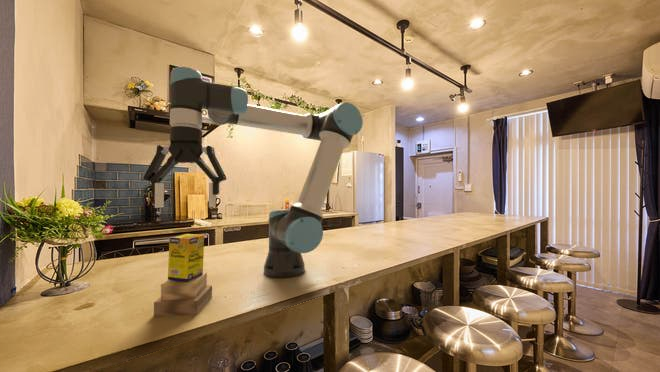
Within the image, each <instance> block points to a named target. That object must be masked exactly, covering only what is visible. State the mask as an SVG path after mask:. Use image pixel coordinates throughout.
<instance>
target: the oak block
mask: <svg viewBox="0 0 660 372" xmlns="http://www.w3.org/2000/svg"><path fill="white" fill-rule="evenodd" d="M207 274H208V272H206V271H205V272H204V271H203V275H201V276H198V277H196V278H193V279H191V280H189V281H187V282H185V281H176V280H168V279H167V280H165V281H163V282H162V283H160V297H161V300H178V299H195V298H196V297H197V296H198V295H199V294H200V293H201V292H202V291H203V290H204V289H205V288H206V287H207V285H208V284H207V283H208V279H207V278H208V275H207Z"/></svg>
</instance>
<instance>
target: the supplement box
mask: <svg viewBox="0 0 660 372" xmlns="http://www.w3.org/2000/svg"><path fill="white" fill-rule="evenodd" d="M168 241H169V242H168V245H169V246H168V266H167V267H168V269H167V280H176V281H185V282H187V281H189V280H191V279H193V278H196V277H198V276H201V275H203V272H204V250H205V249H204V246H205V245H204V244H205V235H204V234H195V233H194V234H193V233H185V234H180V235H176V236H169V240H168Z"/></svg>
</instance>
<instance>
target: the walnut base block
mask: <svg viewBox="0 0 660 372" xmlns="http://www.w3.org/2000/svg"><path fill="white" fill-rule="evenodd" d="M212 298H213V285H212V284H209V285H208V284H207V287H206V288H205V289H204V290H203V291H202V292H201V293H200V294H199V295H198V296H197V297H196V298H195V299H178V300H161V296H160V297H159V298H158V299H156V300H155V301H154V302H153V317H179V316H181V317H182V316H197V315H199V313H200V312H201V311H202V310H203V308H205V306H206V305H207V304H208V303H209V302H210V300H212Z"/></svg>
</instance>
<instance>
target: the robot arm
mask: <svg viewBox="0 0 660 372" xmlns="http://www.w3.org/2000/svg"><path fill="white" fill-rule="evenodd" d="M169 81H170V83H169V125H170V126H171V127H170V128H169V142H170V144H169V146H164V145H160V144H158V145H157V146H156V149H155V150H156V151H155V155H154V156H153V158H152V160H151V162H150V164H149V165H148V167H147V169H146V171H145V173H144V175H143V178H142V179H143V180H144V181H148V182H150V183H151V195H153V196H154V208H155V209H159V208H161V209H162V208H164V206H165V205H164V204H165V190H164V189H165V188H164V187H165V183H164V182H162V181H163V179H165V177H167V175H168V174H169V173H170V172H171V171H172V170H173V169H174V168H175V166H176V165H178V164H186V163H187V164H196V165H198V167H199V168H200V169H201V170H202V171H203V173H204V174H205V175H206V176H207V177H208V178H209V179H210V181H211V182H209V183H208V208H215V207H216V206H217V205H216V204H217V203H216V202H217V201H216V195H219V194H220V184H221V182H224V181H226V180H227V176H226V173H225V171H224V170H223V168H222V167H221V165H220V162H219V160H218V158H217V156H216V153H215V147H213V146H210V145H206V146H204V147H203V145H202V143H203V131H202V130H201V129H202V128H203V110H207V116H208V118H209V120H210V121H211V122H212V123H214V124H215V125H219V126H223V125H227V124H229V125H236V126H243V127H249V128H256V129H261V130H268V131H274V132H280V133H287V134H293V135H299V136H302V138H304V139H307V140H313V141H319V142H320V143H319V145H318V148H317V150H316V153H315V155H314V158H313V161H312V163H311V166H310V168H309V170H308V171H309V172H308V173H307V176H306V179H305V182H304V184H303V186H302V189H301V192H300V194H299V196H298V199H297V201H296V202H295V203H293V204H291V205H290V207H289V209H279V210H278V209H275V210H271V211H270V212H269V214H268V253H267V256H266V259H265V262H264V264H263V274H264V275H265V276H267V277H271V278H278V279H279V278H281V279H282V278H284V279H285V278H292V277H296V276H299V275H300V276H301V275H302V274H303V273H304V272H305V261H304V258H303V255H302V254H308V253H310V252H312V251H314V250H316V249H317V248H318V247H319V245H320V244H321V242H322V240H323V237H324V230H323V225H322V222H323V219H324V215H323V213H322V209H323V206H324V204H325V200H326V197H327V196H328V192H329V190H330V187H331V184H332V182H333V179H334V176H335V173H336V170H337V169H338V165H339V163H340V160H341V158H342V154H343V152H344V149H347V148H349V147H350V145H351V142H352V140H353V137H354V136H355V135H357V134H359V133H360V132H361V130H362V128H363V124H364V121H363V115H361V111H360V110H359V108H358V107H357V106H356V105H355V104H354V103H351V102H349V101H345V102H342V103H337V104H336V105H334V106H333V107H331V108H329V109H327V110H326V111H324V112H322V113H317V114H312V113H306V114H304V115H303V114H298V113H294V112H288V111H283V110H279V109H275V108H274V109H273V108H268V107H264V106H257V105H253V104H249V96H248V92H247V90H246V89H244V88H241V87H237V86H235V85H233V86H232V85H227V84H221V83H215V82H209V81H207V80H204V79H203V75H202V74H201V72H200V71H199V70H196V69H193V68H191V67H188V66H187V67H186V66H177V67H173V69H171V71H170V80H169ZM168 154H170V156H169V157H168V158H167V160H166V162H165V163H164V164H163V162H164V160H165V159H166V156H167V155H168ZM202 154H205V155H206V157H207V158H208V159H209V162H210V164H211V165H212V166H211V167H213V169H214V171H215V173H214V171H213V170H212V169H211V168H210V167H209V166H208V164H207V163H206V161H204V159H203V158H202V157H201V156H202ZM162 164H163V165H162Z"/></svg>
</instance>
